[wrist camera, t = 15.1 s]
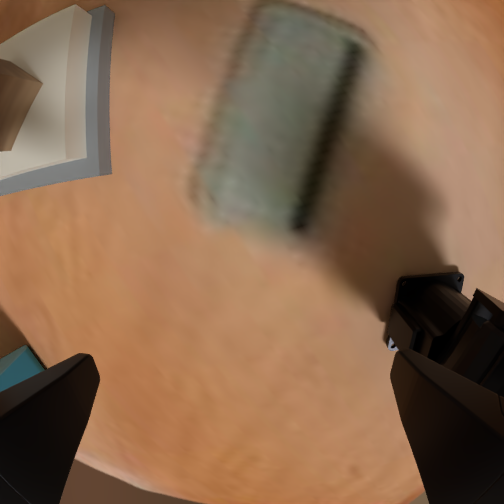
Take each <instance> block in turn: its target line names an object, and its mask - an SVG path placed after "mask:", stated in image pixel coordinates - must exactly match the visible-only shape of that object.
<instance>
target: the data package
mask: <svg viewBox="0 0 504 504" xmlns="http://www.w3.org/2000/svg"><path fill="white" fill-rule="evenodd" d="M44 370H45V369H44V368H43V367H42V366H41V364H40V363H39V362H38V360H37V359H36V357H35V356H34V355H33V353H32V352H31V351H30V349H29V348H28V346H27V345H24V346H22V347H20V348H18V349H17V350H15V351H13V352H12V353H10V354H8V355H6V356H5V357H3V358H1V359H0V392H1V391H3V390H5V389H7V388H9V387H11V386H13V385H15V384H18V383H20V382H22V381H24V380H26V379H28V378H30V377H32V376H34V375H36V374H38V373H40V372H42V371H44Z"/></svg>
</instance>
